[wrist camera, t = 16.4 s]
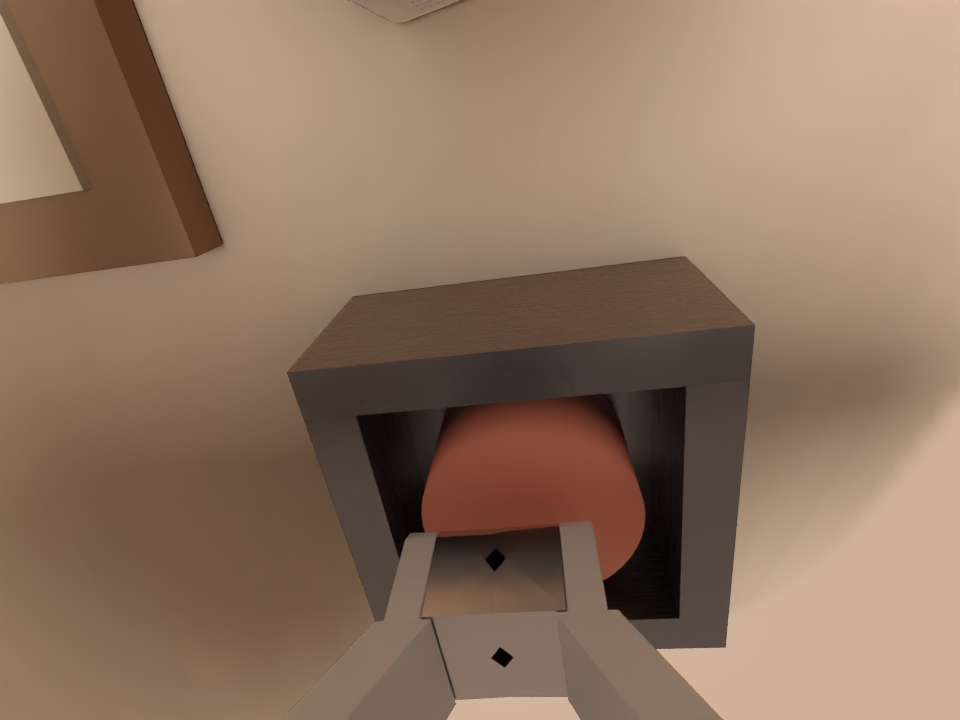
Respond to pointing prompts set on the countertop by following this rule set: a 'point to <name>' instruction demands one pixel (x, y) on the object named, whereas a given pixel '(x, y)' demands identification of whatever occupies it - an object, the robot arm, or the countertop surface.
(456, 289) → the button housing
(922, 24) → the countertop surface
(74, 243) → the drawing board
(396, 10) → the syrup box
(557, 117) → the countertop surface
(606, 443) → the button
